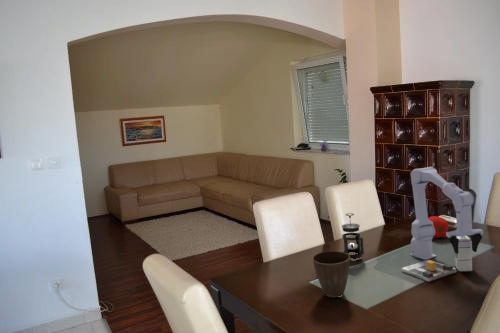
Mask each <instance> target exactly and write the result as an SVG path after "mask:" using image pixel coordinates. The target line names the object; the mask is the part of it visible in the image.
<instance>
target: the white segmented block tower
mask: <svg viewBox="0 0 500 333" xmlns="http://www.w3.org/2000/svg"><path fill="white" fill-rule="evenodd" d="M456 237H457V239H459V243H458V254H456V253H455V252H454V251H453V252H454V268H456V269H457V272H472V271H473V258H472V257H473V256H472V240H471V237H469V235H467V236H456Z"/></svg>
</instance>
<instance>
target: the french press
mask: <svg viewBox="0 0 500 333" xmlns="http://www.w3.org/2000/svg"><path fill="white" fill-rule="evenodd" d="M354 215H355V214H354V213H351V212H349V213H345V216H348V218H349V223H344V224H341V228H342V231H343V232H345V233H343V234H342V235H341V236H342V240H343V248H344V251H343V252H344V253H347V254H348V253H349V252H355V253H358V254H355V255H349V254H348V255H349V256H350V258H353V259H356V258H360V257H363V256H364V254H365V253H364V252H365V251H364V238H363V237H362V236H361V233H358V231H360V226H361V225H360V224H359V223H353V222H352V220H351V218H352V216H354ZM351 222H352V223H351ZM348 236H350V237H348ZM353 236H355V237H353ZM348 241H350V243H348ZM353 241H355V243H353Z"/></svg>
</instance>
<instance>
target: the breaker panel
mask: <svg viewBox="0 0 500 333" xmlns="http://www.w3.org/2000/svg"><path fill="white" fill-rule="evenodd" d="M430 260H431V259H427V260H423V261H420V262H417V263H414V264H410V265H407V266H404V267H401V269H400V270H401V273H405V274H407V275H410V276H412V277H415V278H418V279H420V280H423V281H425V282H428V283H429V282H432V281H435V280H437V279H440V278H444V277H447V276H449V275H452V274H455V273H457V272H458V269H457V268H456V267H454V266H453V265H451V264H448V263H446V264H443V263H441V262H437V261H435V260H431V261H434V262H436V270H434V271H430V270H427V269H426V261H430Z"/></svg>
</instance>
